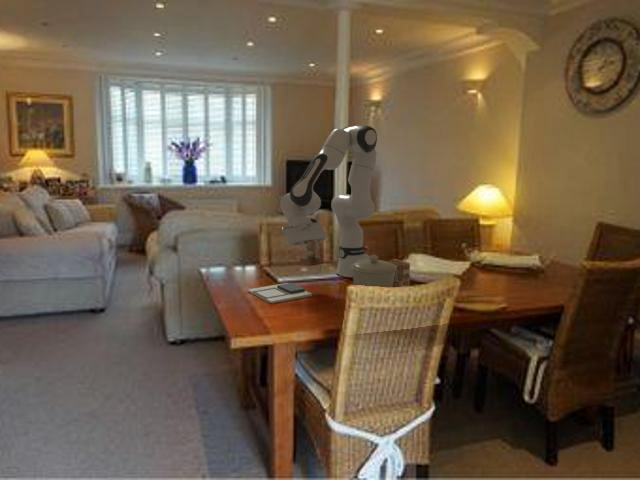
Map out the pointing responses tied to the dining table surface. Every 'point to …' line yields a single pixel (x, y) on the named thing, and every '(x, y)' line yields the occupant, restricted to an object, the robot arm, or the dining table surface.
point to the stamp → (311, 255)
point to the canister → (373, 272)
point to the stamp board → (280, 292)
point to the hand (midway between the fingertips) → (312, 250)
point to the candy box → (401, 273)
